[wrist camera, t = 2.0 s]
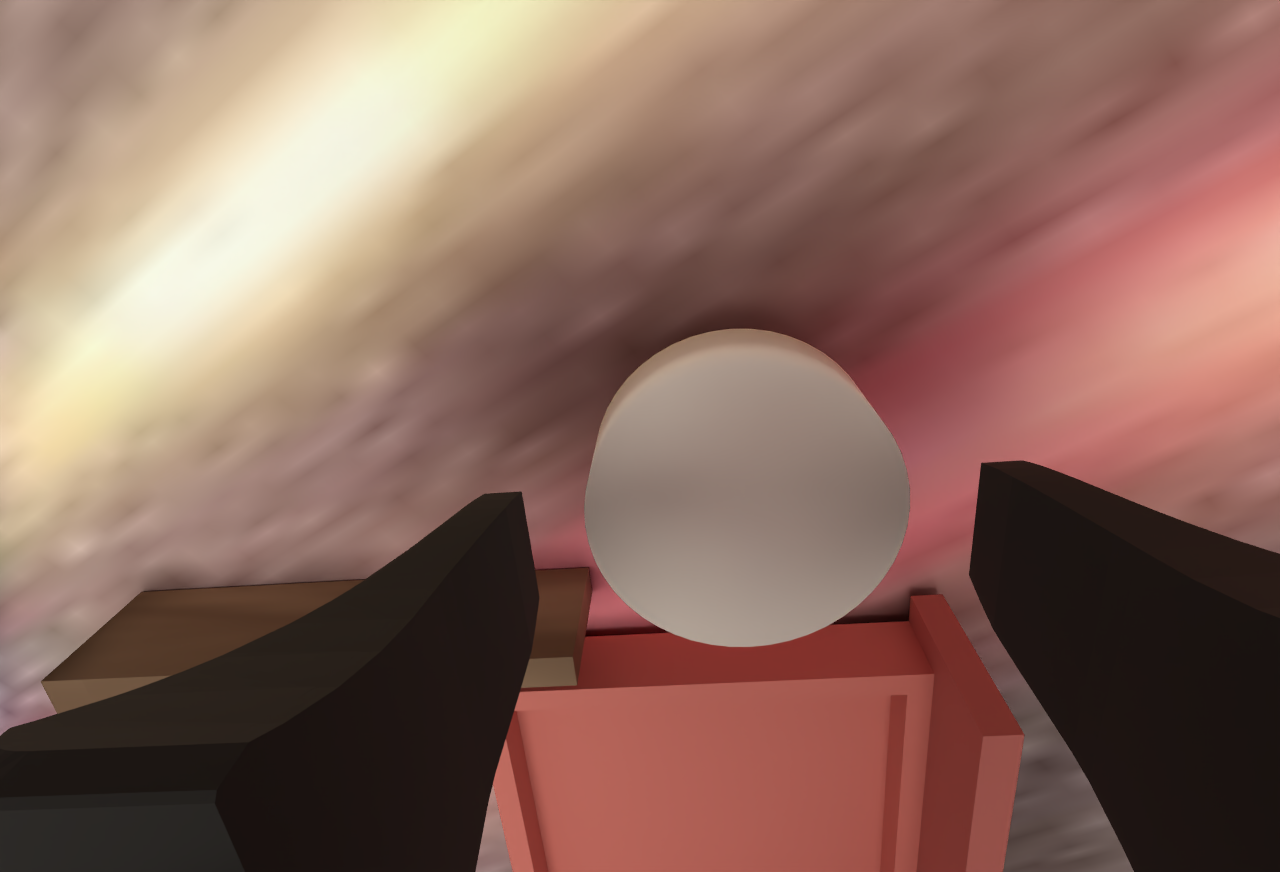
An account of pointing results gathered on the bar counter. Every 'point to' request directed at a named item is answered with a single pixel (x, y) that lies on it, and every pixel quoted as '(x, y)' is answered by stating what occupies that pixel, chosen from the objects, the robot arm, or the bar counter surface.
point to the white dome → (744, 490)
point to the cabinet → (233, 616)
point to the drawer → (766, 755)
